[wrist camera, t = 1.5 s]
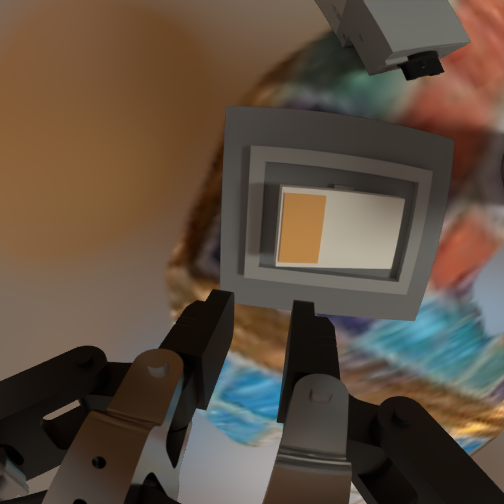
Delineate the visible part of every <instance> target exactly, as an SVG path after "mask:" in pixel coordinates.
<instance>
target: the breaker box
mask: <svg viewBox="0 0 504 504" xmlns="http://www.w3.org/2000/svg"><path fill="white" fill-rule="evenodd" d="M454 142H455V140H453V139H450V138H447V137H443V136H440V135H437V134H433V133H429V132H426V131H422V130H418V129H414V128H410V127H406V126H401V125H397V124H392V123H388V122H383V121H378V120H372V119H367V118H361V117H355V116H349V115H342V114H335V113H327V112H319V111H310V110H299V109H287V108H272V107H246V106H227V107H226V114H225V133H224V154H223V179H222V209H221V256H220V290H224V291H231V292H234V296H235V300H234V303H237V304H244V305H252V306H259V307H267V308H275V309H283V310H292V305H293V300H302V301H312V302H314V308H315V313H319V314H329V315H340V316H351V317H364V318H377V319H392V320H408V321H415V319H416V316H417V313H418V311H419V308H420V305H421V302H422V299H423V296H424V293H425V290H426V287H427V283H428V280H429V277H430V273H431V270H432V266H433V263H434V259H435V255H436V251H437V247H438V243H439V239H440V235H441V230H442V226H443V221H444V216H445V211H446V205H447V199H448V193H449V187H450V180H451V172H452V164H453V154H454ZM280 184H284V185H298V186H310V187H322V188H332V189H342V190H351V191H360V192H369V193H377V194H384V195H392V196H398V197H400V198H403V199H405V203H404V209H403V214H402V220H401V225H400V230H399V235H398V240H397V245H396V250H395V254H394V258H393V263H392V267H391V269H366V268H318V267H280V266H275V263H274V252H275V240H276V229H277V216H278V204H279V191H280Z"/></svg>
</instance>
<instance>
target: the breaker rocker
mask: <svg viewBox="0 0 504 504" xmlns="http://www.w3.org/2000/svg"><path fill="white" fill-rule="evenodd" d="M404 203H405V199H403V198H400V197H398V196H392V195H384V194H377V193H369V192H360V191H351V190H342V189H332V188H322V187H310V186H298V185H284V184H280V191H279V204H278V216H277V229H276V240H275V252H274V263H275V266H280V267H318V268H366V269H391V267H392V263H393V258H394V254H395V250H396V245H397V240H398V235H399V230H400V225H401V220H402V214H403V209H404Z"/></svg>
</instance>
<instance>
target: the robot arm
mask: <svg viewBox="0 0 504 504" xmlns="http://www.w3.org/2000/svg"><path fill="white" fill-rule="evenodd" d="M502 174H503V182H504V158H503V166H502ZM234 300H235V296H234V292H231V291H224V290H217V289H213V290H212V291H211V293H210V295H209V296H208V298H207V299H206V301H198V300H197V301H195V302H193V303H192V304H190V305H189V306H187V307H186V308H185V310H184V311H183V313H182V314H181V316H180V317H179V318H178V320H177V321H176V324H174V326H173V327H172V329H171V330H170V332H169V333H168V335H167V336H166V337H165V339H164V340H163V342H162V343H161V345H160V346H159V348H158V349H151V350H147V351H145V352H143V353H141V354H140V355H138V356H137V357H136V358H135V360H134V361H133V363H120V362H108V361H107V358H106V355H105V353H104V352H103V351H102V350H101V349H99V348H97V347H94V346H81V347H77V348H74V349H72V350H70V351H68V352H65V353H63V354H61V355H59V356H56V357H54V358H52V359H50V360H48V361H45V362H43V363H41V364H39V365H37V366H34V367H32V368H30V369H27V370H25V371H23V372H20V373H18V374H16V375H14V376H11V377H9V378H7V379H4V380H2V381H0V504H181V503H179V502H177V498H178V493H179V474H180V469H181V465H182V461H183V458H184V453H185V450H186V446H187V442H188V438H189V435H190V431H191V427H192V417H193V415H194V412H195V410H196V408H198V409H202V410H206V409H207V407H208V404H209V401H210V399H211V396H212V393H213V391H214V388H215V385H216V383H217V380H218V377H219V375H220V372H221V369H222V367H223V364H224V361H225V358H226V356H227V353H228V350H229V348H230V345H231V342H232V337H233V330H234ZM335 338H336V335H335V327H334V325H333V324H332V323H331V321H330V320H329V319H328V318H327V317H319V316H315V308H314V302H312V301H302V300H293V305H292V312H291V319H290V326H289V332H288V338H287V346H286V353H285V362H284V370H283V378H282V386H281V394H280V401H279V409H278V416H277V423H284V426H283V434H282V438H281V442H280V445H279V449H278V453H277V456H276V460H275V463H274V467H273V470H272V474H271V478H270V481H269V484H268V487H267V490H266V494H265V497H264V500H263V503H262V504H349V498H350V489H351V481H352V483H353V484H354V486H355V487H356V489H357V490H358V491H359V493H360V494H361V496H362V497H363V499H364V500H365V502H366V503H367V504H504V493H503V492H502V491H501V490H500V489H499V487H498V486H497V485H496V484H495V483H494V482H493V481H492V480H491V479H490V478H489V477H488V476H487V474H486V473H485V472H484V471H483V470H482V469H481V468H480V467H479V466H478V465H477V464H476V463H475V462H474V461H473V459H472V458H471V457H470V456H469V455H468V454H467V453H466V452H465V451H464V450H463V449H462V448H461V447H460V446H459V445H458V444H457V442H456V441H455V440H454V439H453V438H452V437H451V436H450V435H449V434H448V433H447V432H446V431H445V430H444V429H443V428H442V427H441V426H440V425H439V424H438V423H437V421H436V420H435V419H434V418H433V417H432V416H431V415H430V414H429V413H428V412H427V411H426V410H425V409H424V408H423V407H422V406H421V405H420V404H419V403H418V402H416V401H415V400H413V399H411V398H408V397H403V396H395V397H391V398H388V399H386V400H385V401H383V402H382V403H381V405H380V406H378V405H375V404H371V403H367V402H364V401H361V400H358V399H356V398H354V397H353V396H351V395H350V394H349V393H348V390H347V388H346V386H345V385H344V384H343V383H342V382H341V380H340V371H339V362H338V352H337V347H336V346H337V344H336V339H335ZM75 400H78V401H79V403H80V406H78V407H76V408H74V409H72V410H70V411H68V412H66V413H64V414H62V415H60V416H58V417H56V418H54V419H52V420H45V419H43V417H44V416H45V415H47V414H49V413H51V412H54V411H55V410H58V409H60V408H62V407H64V406H66V405H68V404H70V403H72V402H74V401H75ZM59 465H60V467H59V469H58V471H57V473H56V475H55V477H54V479H53V481H52V483H51V485H50V487H49V489H48V490H45V491H41V492H38V493H34V494H30V495H27V494H28V493H29V487H28V485H27V484H26V481H28V480H29V479H32V478H34V477H36V476H38V475H41V474H43V473H45V472H47V471H49V470H51V469H53V468H55V467H57V466H59ZM17 495H20V496H22V497H18V498H14V497H16V496H17Z"/></svg>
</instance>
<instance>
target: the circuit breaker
mask: <svg viewBox="0 0 504 504" xmlns="http://www.w3.org/2000/svg"><path fill="white" fill-rule="evenodd" d="M315 2H316V3H317V5H318V6H319V8H320V9H321V11H322V12H323V14H324V15H325V17H326V19H327V21H328V22H329V24H330V26H331V27H332V29H333V31H334V33H335V34H336V36H337V38H338V40H339V41H340V43H341V45H342V47H343V48H344V47H348V46H352V45H354V47H355V49H356V51H357V53H358V54H359V56H360V58H361V60H362V62H363V64H364V66H365V68H366V70H367V72H368V74H369V76H371V75H375V74H379V73H383V72H387V71H391V70H396V69H400V68H401V69H402V71H403V73H404V76H405V78H406V80H407V81H409V80H414V79H417V78H418V77H423V76H428V75H429V76H433V75H439V74H440V73H443V72H444V70H443V67H442V65H441V63H440V61H439V59H441V58H443V57H444V56H446V55H448V54H450V53H452V52H454V51H456V50H457V49H459V48H461V47H463V46H465V45H467V44H468V43H471V41H470V39H469V37H468V35H467V33H466V31H465V29H464V27H463V25H462V24H461V22H460V20H459V18H458V17H457V15H456V13H455V11H454V10H453V8H452V6H451V5H450V3H449V2H448V0H315Z"/></svg>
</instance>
